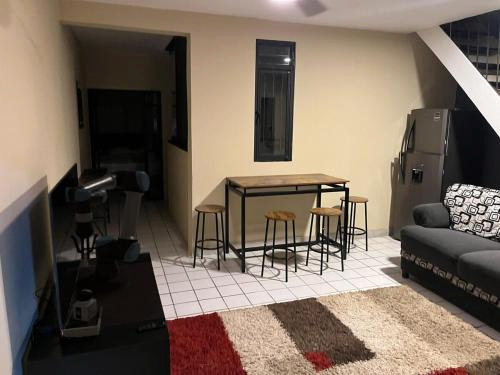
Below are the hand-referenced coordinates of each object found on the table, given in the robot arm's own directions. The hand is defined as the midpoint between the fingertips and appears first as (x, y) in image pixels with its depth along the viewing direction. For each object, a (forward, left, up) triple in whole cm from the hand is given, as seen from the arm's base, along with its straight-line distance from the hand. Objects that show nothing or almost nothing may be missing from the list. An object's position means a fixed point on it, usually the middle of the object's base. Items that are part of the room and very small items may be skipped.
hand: (86, 265), depth 197 cm
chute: (+18, 0, -21) cm, 28 cm away
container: (+12, 0, -22) cm, 25 cm away
